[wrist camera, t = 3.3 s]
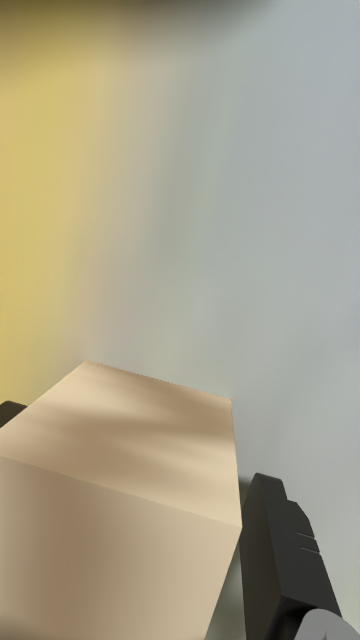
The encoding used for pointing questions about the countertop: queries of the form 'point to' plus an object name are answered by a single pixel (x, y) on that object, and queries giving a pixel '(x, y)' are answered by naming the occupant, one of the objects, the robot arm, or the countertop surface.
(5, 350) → the countertop surface
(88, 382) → the birch block
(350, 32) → the countertop surface
